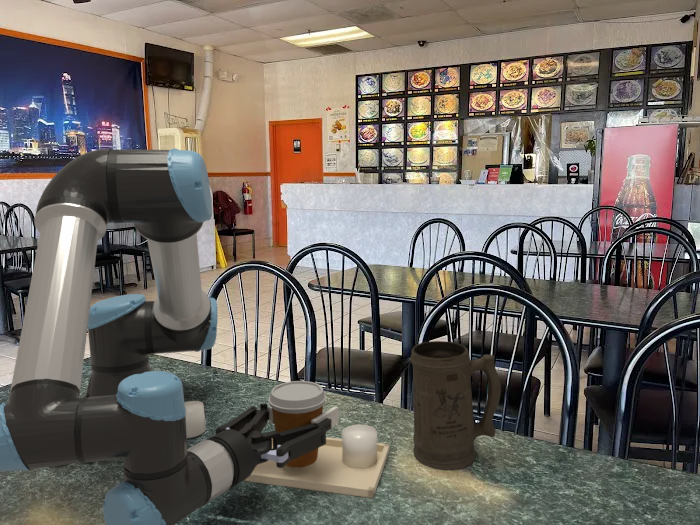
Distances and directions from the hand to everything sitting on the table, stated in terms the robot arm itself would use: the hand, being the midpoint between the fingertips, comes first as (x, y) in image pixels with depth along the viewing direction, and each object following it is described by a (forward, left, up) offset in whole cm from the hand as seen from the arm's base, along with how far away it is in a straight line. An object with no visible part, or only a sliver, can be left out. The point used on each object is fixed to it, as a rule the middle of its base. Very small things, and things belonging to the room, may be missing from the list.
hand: (315, 408), depth 95 cm
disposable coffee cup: (+4, -2, -7) cm, 9 cm away
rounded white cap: (-4, -27, -9) cm, 28 cm away
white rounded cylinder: (0, +8, -8) cm, 12 cm away
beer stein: (-6, +23, -9) cm, 26 cm away
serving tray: (+3, +1, -9) cm, 10 cm away
